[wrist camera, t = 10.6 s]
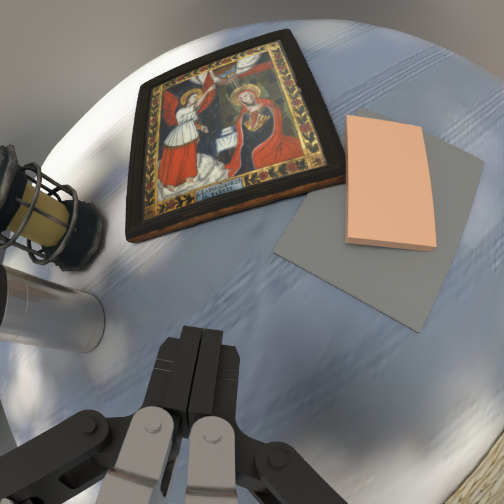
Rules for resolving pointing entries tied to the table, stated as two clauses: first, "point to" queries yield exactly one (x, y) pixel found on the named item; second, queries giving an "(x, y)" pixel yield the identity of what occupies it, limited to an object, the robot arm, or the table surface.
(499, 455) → the storage basket
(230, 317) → the table surface
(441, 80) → the table surface
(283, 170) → the religious icon
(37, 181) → the lantern
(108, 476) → the robot arm
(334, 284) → the mat
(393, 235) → the tile
